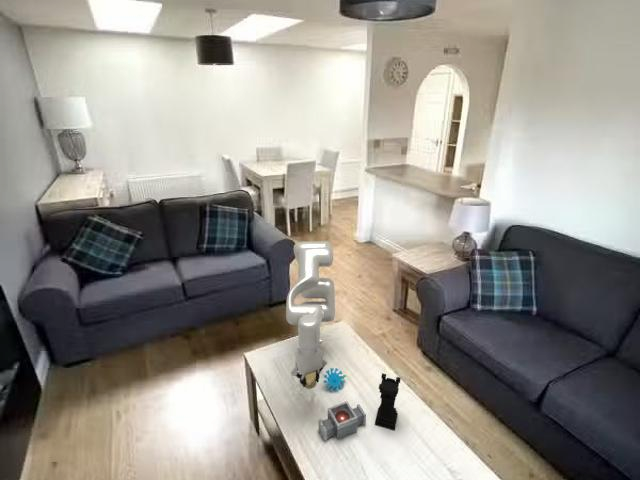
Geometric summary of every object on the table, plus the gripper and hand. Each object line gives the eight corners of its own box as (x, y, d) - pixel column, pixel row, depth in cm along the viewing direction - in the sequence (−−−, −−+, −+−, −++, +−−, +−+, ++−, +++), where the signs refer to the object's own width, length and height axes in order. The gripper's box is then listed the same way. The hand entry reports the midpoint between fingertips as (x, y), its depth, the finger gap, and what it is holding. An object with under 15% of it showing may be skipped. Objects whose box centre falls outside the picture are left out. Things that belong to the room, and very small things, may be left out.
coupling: (301, 381, 143) (301, 368, 140) (313, 377, 145) (312, 364, 142) (306, 390, 139) (305, 377, 136) (318, 386, 141) (318, 372, 138)
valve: (316, 427, 142) (316, 412, 139) (356, 411, 149) (357, 397, 146) (326, 445, 135) (326, 430, 132) (367, 428, 142) (368, 413, 138)
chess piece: (397, 414, 147) (401, 377, 139) (394, 430, 141) (399, 392, 133) (378, 409, 150) (381, 372, 142) (374, 424, 143) (377, 387, 135)
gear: (327, 393, 155) (322, 369, 159) (322, 394, 160) (317, 371, 164) (349, 388, 160) (344, 365, 163) (343, 389, 165) (339, 366, 168)
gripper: (325, 333, 140) (325, 369, 148) (283, 346, 134) (286, 382, 141) (333, 346, 134) (333, 382, 142) (290, 359, 128) (292, 396, 135)
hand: (309, 381), depth 141 cm, fingers closed on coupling, 5 cm apart
